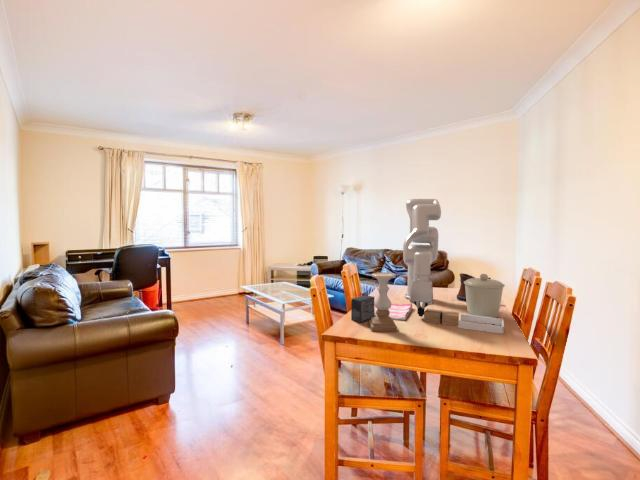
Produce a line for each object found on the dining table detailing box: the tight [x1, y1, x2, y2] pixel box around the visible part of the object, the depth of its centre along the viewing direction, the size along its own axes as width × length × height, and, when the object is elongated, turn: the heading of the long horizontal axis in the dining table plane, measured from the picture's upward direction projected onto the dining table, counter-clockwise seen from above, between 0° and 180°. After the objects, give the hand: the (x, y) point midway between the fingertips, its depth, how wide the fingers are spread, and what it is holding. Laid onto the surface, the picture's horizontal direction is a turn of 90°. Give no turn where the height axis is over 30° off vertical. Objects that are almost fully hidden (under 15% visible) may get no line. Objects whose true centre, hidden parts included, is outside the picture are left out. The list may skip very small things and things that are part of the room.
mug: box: [456, 272, 492, 302], centre depth 203 cm, size 18×12×15 cm, turn 56°
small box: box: [350, 294, 375, 324], centre depth 168 cm, size 11×6×10 cm, turn 134°
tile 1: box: [423, 308, 443, 324], centre depth 166 cm, size 7×7×4 cm
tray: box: [457, 313, 505, 335], centre depth 157 cm, size 13×18×3 cm
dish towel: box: [374, 302, 413, 321], centre depth 179 cm, size 17×23×4 cm
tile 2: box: [441, 310, 460, 327], centre depth 163 cm, size 7×7×4 cm
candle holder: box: [368, 271, 398, 333], centre depth 155 cm, size 11×11×24 cm
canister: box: [464, 273, 506, 318], centre depth 171 cm, size 18×18×21 cm
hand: (420, 315), depth 169 cm, fingers closed
